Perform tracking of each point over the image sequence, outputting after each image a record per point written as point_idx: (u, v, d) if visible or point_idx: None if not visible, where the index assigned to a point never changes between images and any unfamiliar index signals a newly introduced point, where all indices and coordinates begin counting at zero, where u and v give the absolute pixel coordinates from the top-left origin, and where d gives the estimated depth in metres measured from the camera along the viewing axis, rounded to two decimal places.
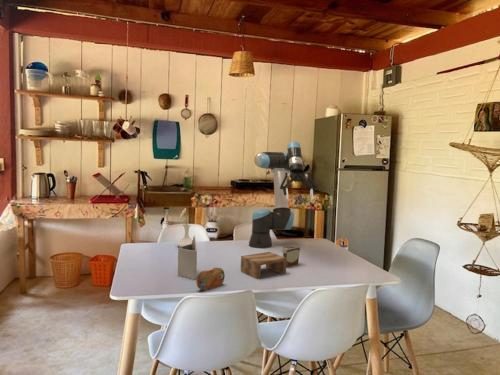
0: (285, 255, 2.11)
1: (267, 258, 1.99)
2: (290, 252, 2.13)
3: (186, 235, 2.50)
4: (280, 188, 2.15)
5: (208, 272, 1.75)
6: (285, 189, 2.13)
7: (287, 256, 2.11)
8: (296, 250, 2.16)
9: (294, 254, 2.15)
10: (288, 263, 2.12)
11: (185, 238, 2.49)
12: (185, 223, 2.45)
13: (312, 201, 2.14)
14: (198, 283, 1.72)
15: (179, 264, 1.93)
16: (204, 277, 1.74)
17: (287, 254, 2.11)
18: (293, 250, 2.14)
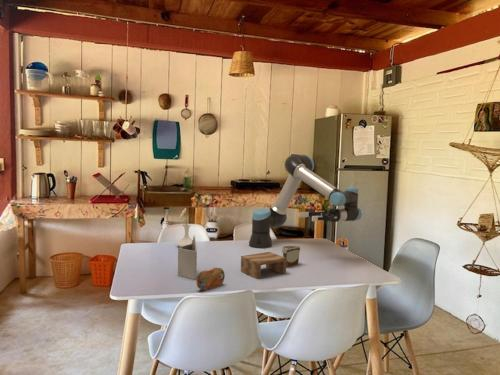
0: (285, 255, 2.11)
1: (267, 258, 1.99)
2: (290, 252, 2.13)
3: (186, 235, 2.50)
4: (327, 217, 2.13)
5: (208, 272, 1.75)
6: (322, 219, 2.15)
7: (287, 256, 2.11)
8: (296, 250, 2.16)
9: (294, 254, 2.15)
10: (288, 263, 2.12)
11: (185, 238, 2.49)
12: (185, 223, 2.45)
13: (298, 212, 2.25)
14: (198, 283, 1.72)
15: (179, 264, 1.93)
16: (204, 277, 1.74)
17: (287, 254, 2.11)
18: (293, 250, 2.14)
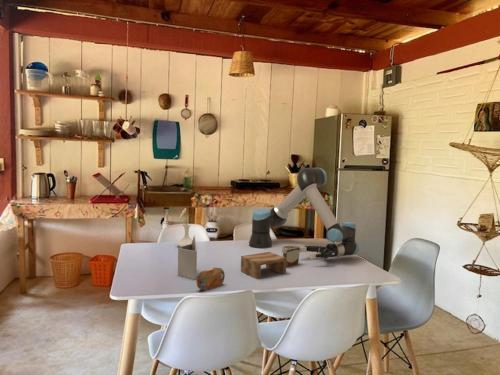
0: (285, 255, 2.11)
1: (267, 258, 1.99)
2: (290, 252, 2.13)
3: (186, 235, 2.50)
4: (324, 255, 2.14)
5: (208, 272, 1.75)
6: (320, 256, 2.16)
7: (287, 256, 2.11)
8: (296, 250, 2.16)
9: (294, 254, 2.15)
10: (288, 263, 2.12)
11: (185, 238, 2.49)
12: (185, 223, 2.45)
13: None
14: (198, 283, 1.72)
15: (179, 264, 1.93)
16: (204, 277, 1.74)
17: (287, 254, 2.11)
18: (293, 250, 2.14)
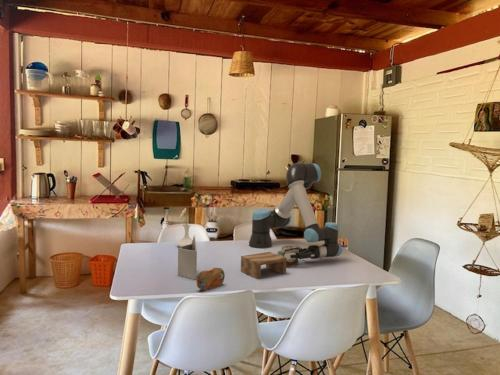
0: None
1: (267, 258, 1.99)
2: (289, 251, 2.13)
3: (186, 235, 2.50)
4: (299, 255, 2.11)
5: (208, 272, 1.75)
6: (294, 257, 2.13)
7: None
8: (295, 249, 2.16)
9: None
10: (287, 262, 2.13)
11: (185, 238, 2.49)
12: (185, 223, 2.45)
13: (277, 251, 2.18)
14: (198, 283, 1.72)
15: (179, 264, 1.93)
16: (204, 277, 1.74)
17: (286, 253, 2.12)
18: (292, 249, 2.15)
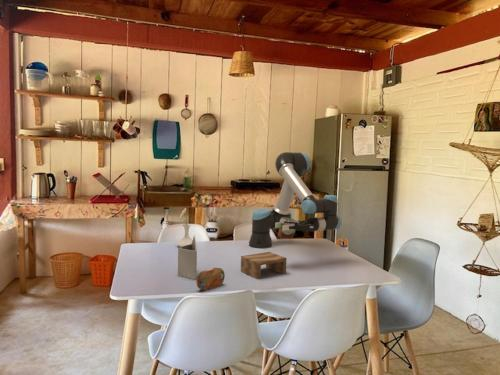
0: (282, 225, 2.07)
1: (267, 258, 1.99)
2: (287, 224, 2.09)
3: (186, 235, 2.50)
4: (298, 226, 2.07)
5: (208, 272, 1.75)
6: (293, 228, 2.08)
7: None
8: (294, 224, 2.12)
9: None
10: (282, 234, 2.09)
11: (185, 238, 2.49)
12: (185, 223, 2.45)
13: (275, 223, 2.13)
14: (198, 283, 1.72)
15: (179, 264, 1.93)
16: (204, 277, 1.74)
17: None
18: (291, 223, 2.10)
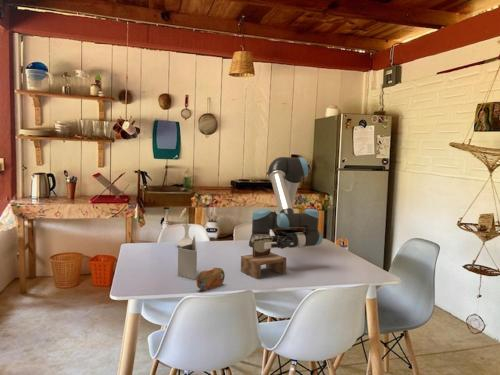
0: (253, 244, 1.99)
1: (267, 258, 1.99)
2: (259, 241, 2.00)
3: (186, 235, 2.50)
4: (281, 244, 1.94)
5: (208, 272, 1.75)
6: (276, 246, 1.95)
7: (256, 245, 1.99)
8: (267, 240, 2.03)
9: None
10: (256, 253, 2.00)
11: (185, 238, 2.49)
12: (185, 223, 2.45)
13: None
14: (198, 283, 1.72)
15: (179, 264, 1.93)
16: (204, 277, 1.74)
17: (255, 243, 1.99)
18: (263, 239, 2.01)
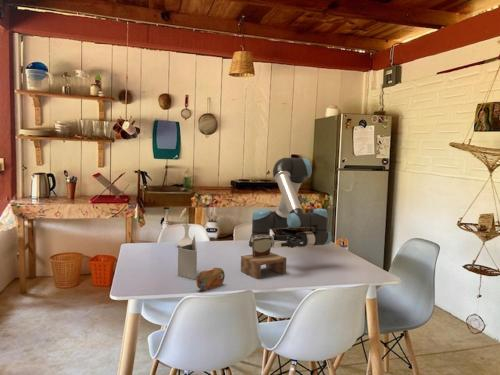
0: (253, 244, 1.99)
1: (267, 258, 1.99)
2: (259, 241, 2.00)
3: (186, 235, 2.50)
4: (290, 244, 1.96)
5: (208, 272, 1.75)
6: (286, 245, 1.97)
7: (255, 245, 1.99)
8: (267, 240, 2.03)
9: (264, 244, 2.02)
10: (256, 253, 2.00)
11: (185, 238, 2.49)
12: (185, 223, 2.45)
13: None
14: (198, 283, 1.72)
15: (179, 264, 1.93)
16: (204, 277, 1.74)
17: (255, 243, 1.99)
18: (263, 239, 2.01)
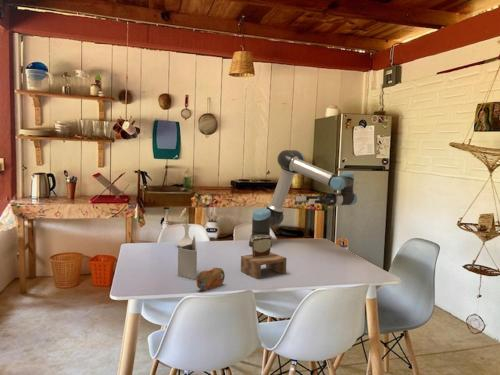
0: (252, 244, 1.99)
1: (267, 258, 1.99)
2: (258, 241, 2.00)
3: (186, 235, 2.50)
4: (323, 200, 2.22)
5: (208, 272, 1.75)
6: (319, 202, 2.24)
7: (255, 245, 1.99)
8: (267, 239, 2.03)
9: (264, 244, 2.02)
10: (256, 253, 2.00)
11: (185, 238, 2.49)
12: (185, 223, 2.45)
13: (296, 196, 2.34)
14: (198, 283, 1.72)
15: (179, 264, 1.93)
16: (204, 277, 1.74)
17: (254, 243, 1.99)
18: (263, 239, 2.02)
